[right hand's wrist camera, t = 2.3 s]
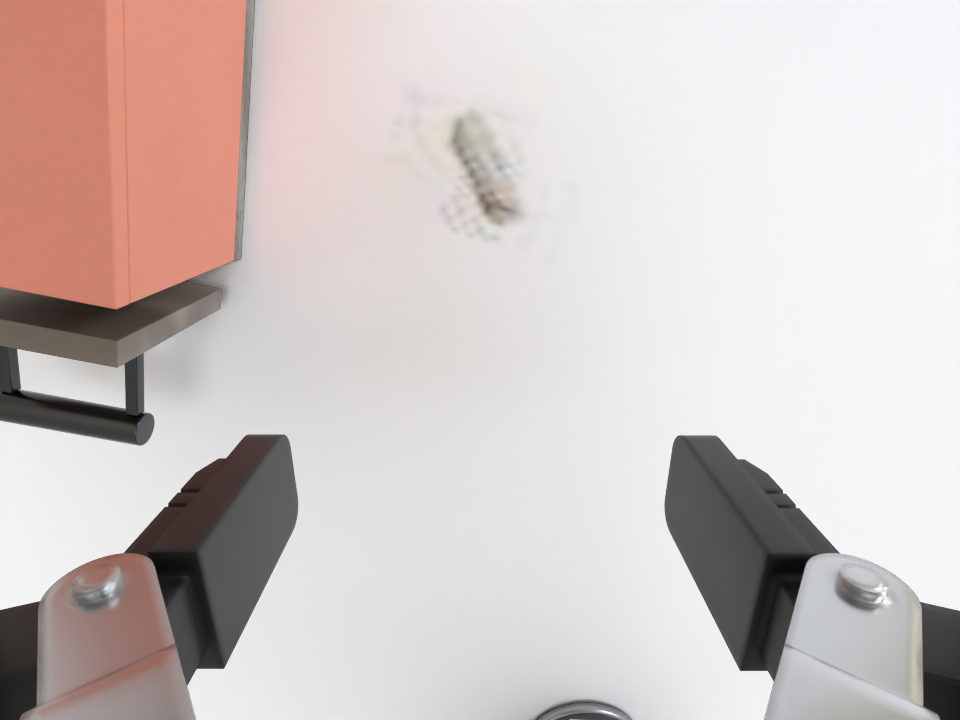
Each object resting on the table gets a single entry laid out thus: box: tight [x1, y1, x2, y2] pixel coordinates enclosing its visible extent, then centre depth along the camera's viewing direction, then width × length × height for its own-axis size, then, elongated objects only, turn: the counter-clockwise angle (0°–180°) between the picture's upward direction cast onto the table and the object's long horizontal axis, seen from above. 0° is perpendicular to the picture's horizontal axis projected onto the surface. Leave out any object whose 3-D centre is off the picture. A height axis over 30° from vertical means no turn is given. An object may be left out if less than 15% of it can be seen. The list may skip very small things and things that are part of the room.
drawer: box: [0, 281, 221, 446], centre depth 24 cm, size 23×9×9 cm, turn 168°
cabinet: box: [0, 0, 255, 309], centre depth 22 cm, size 18×10×11 cm, turn 168°
